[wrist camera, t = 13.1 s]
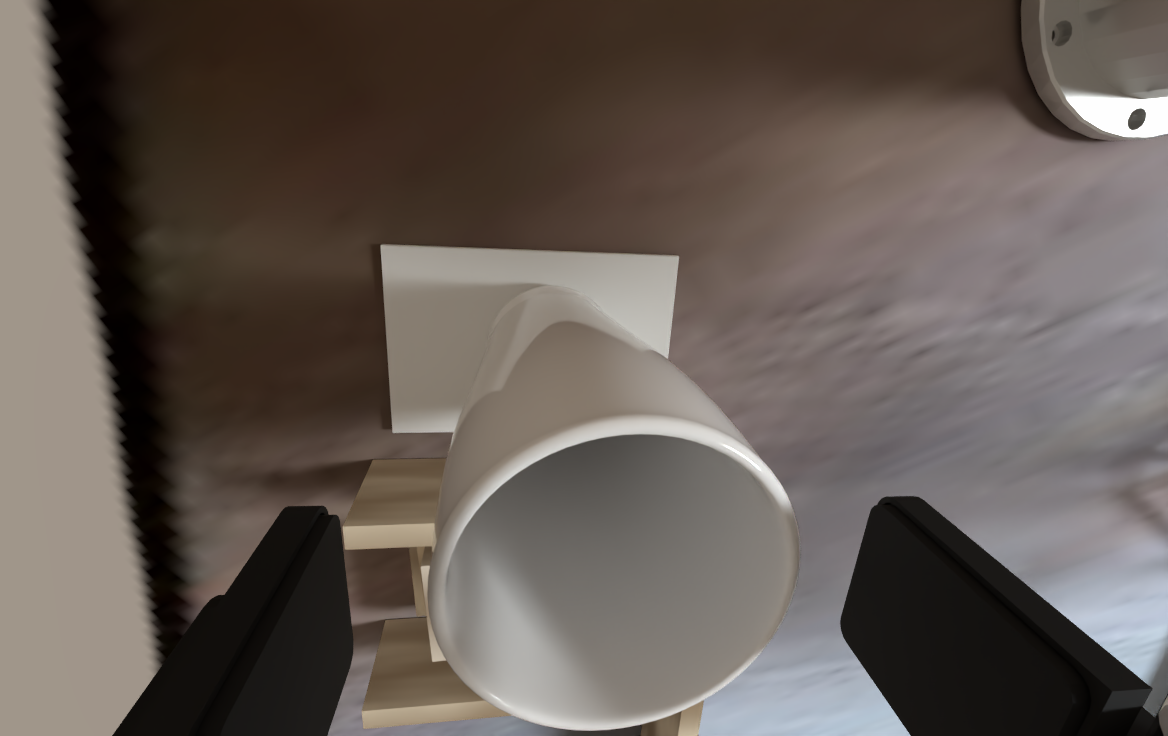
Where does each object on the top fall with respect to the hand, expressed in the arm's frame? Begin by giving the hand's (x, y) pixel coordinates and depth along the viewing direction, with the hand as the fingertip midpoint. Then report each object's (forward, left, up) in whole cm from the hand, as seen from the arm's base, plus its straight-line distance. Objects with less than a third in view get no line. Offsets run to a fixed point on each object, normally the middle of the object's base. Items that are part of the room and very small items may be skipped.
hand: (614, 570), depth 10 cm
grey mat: (0, -1, -15) cm, 15 cm away
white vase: (0, 0, -15) cm, 15 cm away
